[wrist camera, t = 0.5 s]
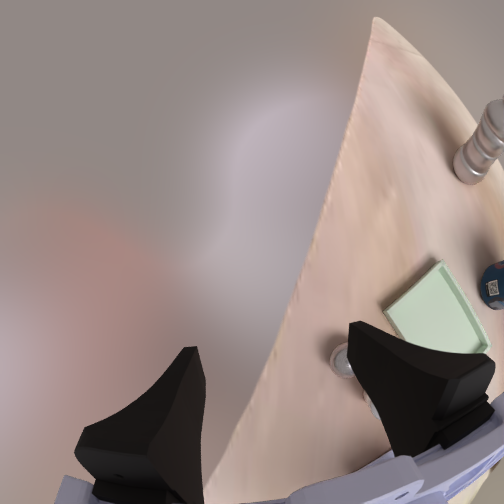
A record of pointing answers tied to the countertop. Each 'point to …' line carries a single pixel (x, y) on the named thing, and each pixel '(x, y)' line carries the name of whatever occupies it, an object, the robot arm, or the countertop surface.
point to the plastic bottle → (482, 145)
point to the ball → (341, 362)
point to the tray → (438, 315)
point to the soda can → (493, 286)
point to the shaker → (370, 405)
